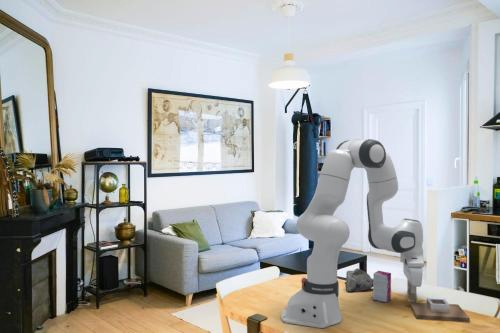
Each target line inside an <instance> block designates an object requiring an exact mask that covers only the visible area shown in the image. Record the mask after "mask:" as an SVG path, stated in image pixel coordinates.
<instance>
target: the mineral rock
mask: <svg viewBox="0 0 500 333" xmlns="http://www.w3.org/2000/svg"><path fill="white" fill-rule="evenodd" d="M345 276H346V277H345V279H346V282H345V290H346V291H347V292H359V291H368V290H369V289H373V278H372V277H371V276H370V274H368V273H367V272H366V271H364V270H362V269H360V268H359V267H357V268H354V270H346V275H345Z"/></svg>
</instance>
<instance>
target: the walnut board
mask: <svg viewBox="0 0 500 333" xmlns="http://www.w3.org/2000/svg"><path fill="white" fill-rule="evenodd" d="M448 304H449V305H450V313H436V312H430V310H429V309H428V307H427V302H420V301H419V302H409V307H410V309H411V312H412V313H413V315H414V317H415V319H416V320H425V321H426V320H428V321H429V320H430V321H444V322H445V321H446V322H458V323H459V322H462V323H470V322H471V319H470V317H469V315H468V314H467V313H466V312H465V310H463V309H462V307H461V306H460V305H459V304H454V303H453V304H452V303H448Z"/></svg>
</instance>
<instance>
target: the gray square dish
mask: <svg viewBox="0 0 500 333" xmlns="http://www.w3.org/2000/svg"><path fill="white" fill-rule="evenodd" d="M426 303H427V307H428V309H429V310H430V312H436V313H450V305H449V304H450V303H448V301H447V300H446V299H445V298H430V297H429V298H426Z"/></svg>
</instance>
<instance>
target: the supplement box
mask: <svg viewBox="0 0 500 333" xmlns="http://www.w3.org/2000/svg"><path fill="white" fill-rule="evenodd" d="M372 279H373V287H372V289H373V292H372V301H374V302H377V301H378V302H379V303H382V302H383V304H387V303H388V302H389V301H391V300H392V299H391V295H392V294H391V293H392V292H391V290H392V273H391V272H388V271H387V272H386V271H382V270H376V271H375V272H373V278H372Z"/></svg>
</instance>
